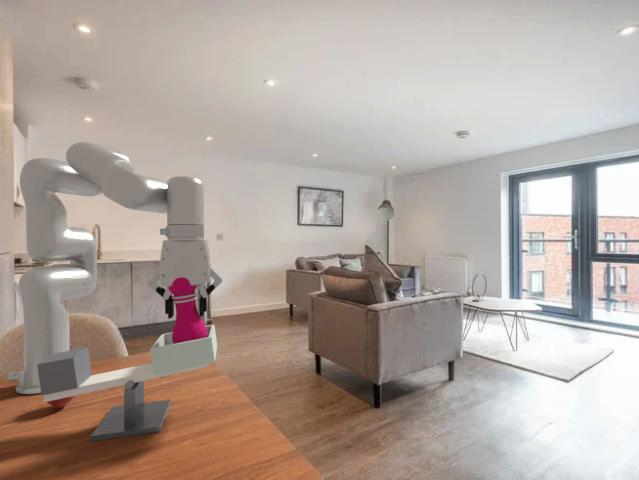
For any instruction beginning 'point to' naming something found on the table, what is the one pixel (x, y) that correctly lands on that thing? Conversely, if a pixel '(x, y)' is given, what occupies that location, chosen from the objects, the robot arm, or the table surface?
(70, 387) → the beam
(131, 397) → the stand
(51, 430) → the table surface
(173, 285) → the pepper mill
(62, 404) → the onion
